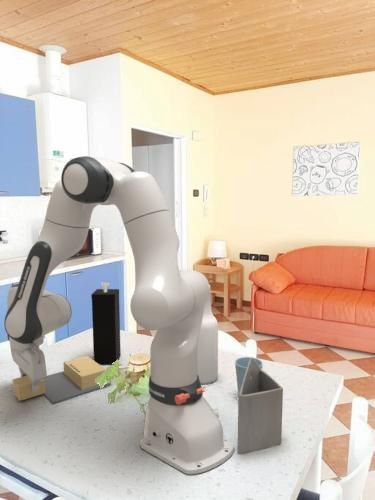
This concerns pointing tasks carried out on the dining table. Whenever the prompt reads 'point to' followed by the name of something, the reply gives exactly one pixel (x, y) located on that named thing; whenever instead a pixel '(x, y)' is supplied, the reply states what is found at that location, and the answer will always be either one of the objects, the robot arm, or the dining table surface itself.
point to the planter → (259, 410)
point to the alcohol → (208, 347)
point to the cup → (243, 369)
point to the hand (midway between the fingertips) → (29, 384)
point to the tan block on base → (73, 380)
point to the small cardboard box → (26, 388)
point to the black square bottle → (106, 324)
